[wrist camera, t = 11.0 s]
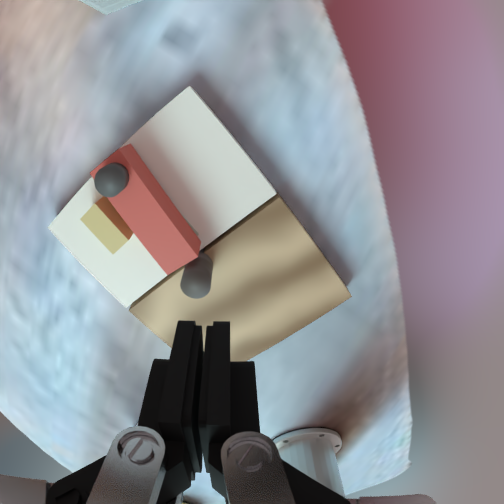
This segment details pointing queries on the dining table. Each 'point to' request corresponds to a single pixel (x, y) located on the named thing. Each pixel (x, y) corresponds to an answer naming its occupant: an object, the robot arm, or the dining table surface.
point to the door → (175, 186)
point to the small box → (109, 4)
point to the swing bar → (146, 209)
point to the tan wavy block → (248, 284)
